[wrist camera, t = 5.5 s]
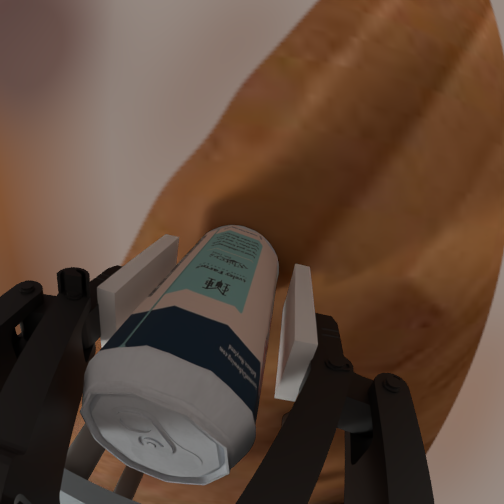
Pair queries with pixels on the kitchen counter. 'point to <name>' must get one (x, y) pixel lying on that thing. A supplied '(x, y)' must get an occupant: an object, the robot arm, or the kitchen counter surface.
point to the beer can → (189, 363)
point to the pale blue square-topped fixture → (81, 467)
